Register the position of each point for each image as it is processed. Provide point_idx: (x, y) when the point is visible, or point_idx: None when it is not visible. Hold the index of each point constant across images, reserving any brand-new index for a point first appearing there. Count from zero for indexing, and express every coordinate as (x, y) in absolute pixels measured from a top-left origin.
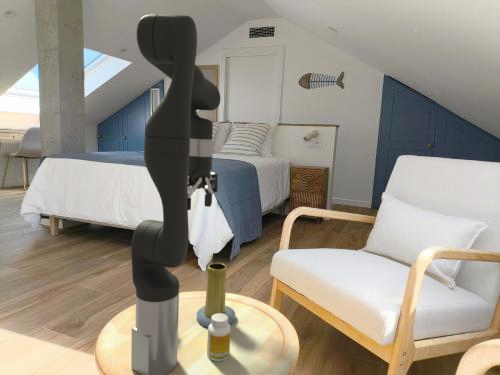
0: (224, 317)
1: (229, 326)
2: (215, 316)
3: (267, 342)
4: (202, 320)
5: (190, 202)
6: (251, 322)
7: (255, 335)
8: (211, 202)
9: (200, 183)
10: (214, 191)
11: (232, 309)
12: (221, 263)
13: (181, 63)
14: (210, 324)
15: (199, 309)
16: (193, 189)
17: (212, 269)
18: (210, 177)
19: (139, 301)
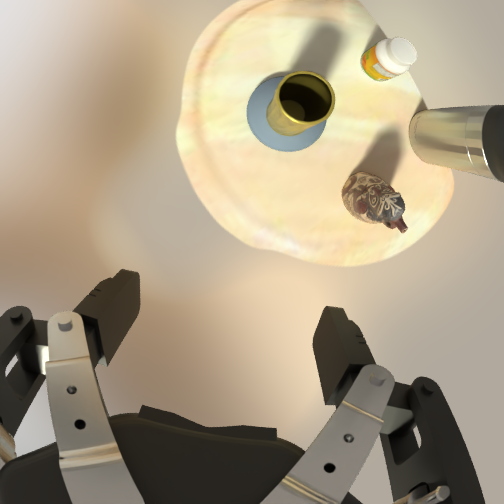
0: (399, 43)
1: (386, 39)
2: (406, 57)
3: (302, 13)
4: (325, 122)
5: (344, 337)
6: (259, 53)
7: (295, 33)
8: (101, 284)
9: (218, 481)
10: (33, 322)
11: (253, 93)
12: (278, 96)
13: None
14: (401, 69)
15: (292, 150)
16: (373, 416)
17: (334, 98)
18: (2, 456)
19: None
